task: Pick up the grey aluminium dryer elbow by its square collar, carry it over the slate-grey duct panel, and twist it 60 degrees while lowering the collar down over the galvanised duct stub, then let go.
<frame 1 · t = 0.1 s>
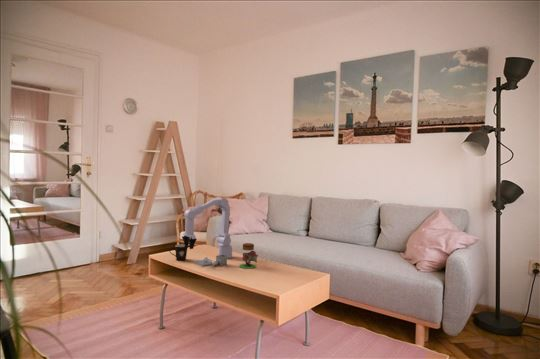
hand: (188, 247, 244), 10 cm above the table, fingers open, 7 cm apart
coffee mug: (178, 260, 250), on the table
duct panel: (205, 263, 243), on the table
miniature tree model: (248, 266, 239), on the table
elbow: (221, 264, 241), on the table
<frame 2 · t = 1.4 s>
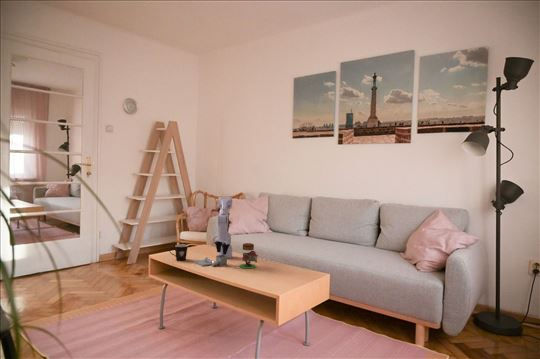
hand: (221, 253, 240), 8 cm above the table, fingers open, 7 cm apart
nothing on the table moved.
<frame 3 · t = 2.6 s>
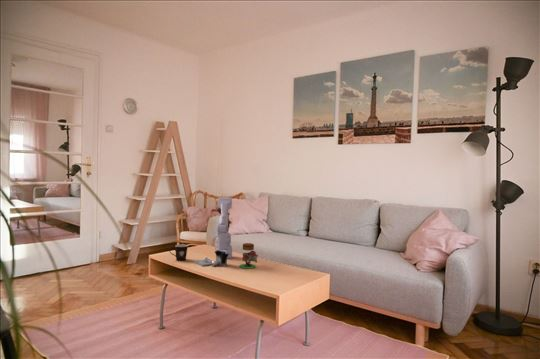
hand: (221, 262, 241), 2 cm above the table, fingers closed on elbow, 5 cm apart
elbow: (221, 264, 241), on the table, touching gripper
everything else where it was.
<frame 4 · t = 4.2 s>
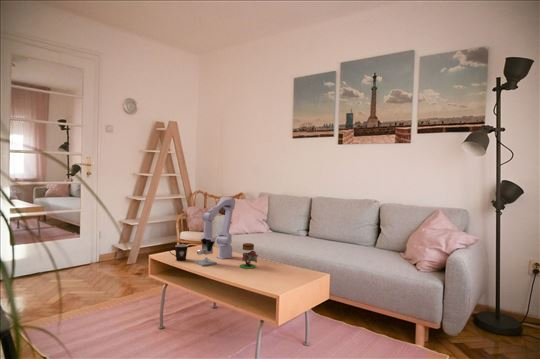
hand: (207, 250, 243), 9 cm above the table, fingers closed on elbow, 5 cm apart
elbow: (207, 253, 243), point 7 cm above the table, touching gripper
everything else where it was.
when the fingers open (4 cm above the table, at t = 6.0 s): elbow stays where it is, resting on duct panel.
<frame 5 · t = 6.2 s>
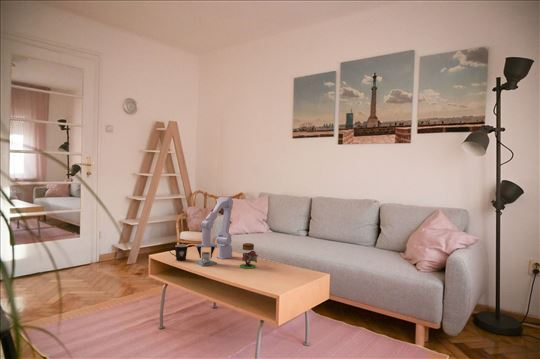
hand: (205, 258, 243), 4 cm above the table, fingers open, 6 cm apart
elbow: (205, 261, 243), point 1 cm above the table, touching duct panel
everything else where it was.
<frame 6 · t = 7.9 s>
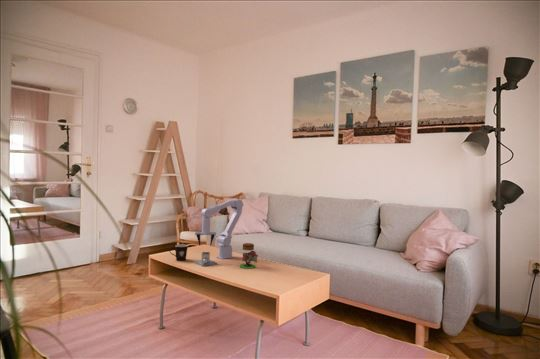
hand: (205, 245, 252), 10 cm above the table, fingers open, 7 cm apart
nothing on the table moved.
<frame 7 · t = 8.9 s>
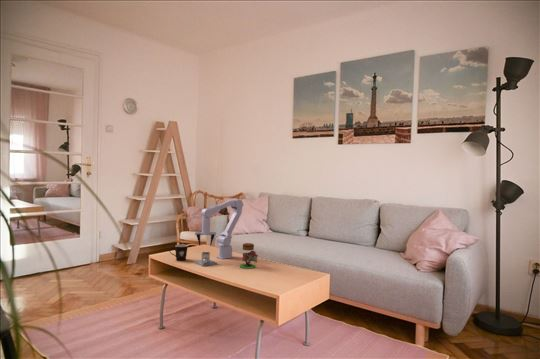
hand: (205, 245, 252), 10 cm above the table, fingers open, 7 cm apart
nothing on the table moved.
at the end: elbow 0.1 cm off-centre on the duct panel, point 1.0 cm above the duct panel's base; elbow tilted 0°; the gripper is holding nothing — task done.
